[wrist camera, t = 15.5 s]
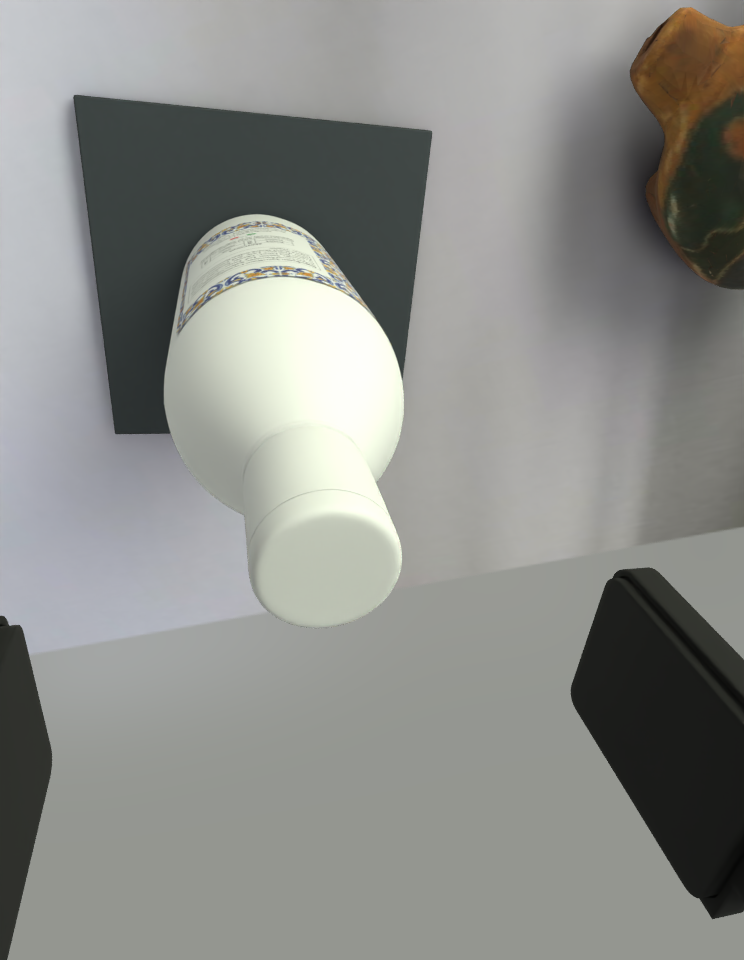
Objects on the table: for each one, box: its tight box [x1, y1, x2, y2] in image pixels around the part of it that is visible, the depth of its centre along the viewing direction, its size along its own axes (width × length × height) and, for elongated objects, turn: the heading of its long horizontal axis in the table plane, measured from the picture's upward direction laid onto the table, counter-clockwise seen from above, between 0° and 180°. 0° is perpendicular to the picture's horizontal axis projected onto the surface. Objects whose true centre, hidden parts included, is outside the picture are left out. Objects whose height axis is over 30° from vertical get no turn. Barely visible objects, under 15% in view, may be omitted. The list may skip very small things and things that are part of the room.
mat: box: [74, 95, 432, 434], centre depth 29 cm, size 14×14×1 cm
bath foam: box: [164, 214, 404, 628], centre depth 20 cm, size 7×7×20 cm
